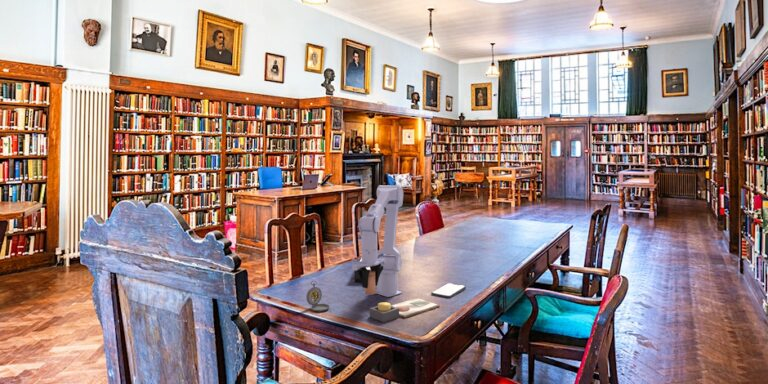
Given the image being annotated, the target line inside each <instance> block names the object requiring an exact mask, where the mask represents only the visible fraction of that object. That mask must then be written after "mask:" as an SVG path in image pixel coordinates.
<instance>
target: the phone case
mask: <svg viewBox="0 0 768 384" xmlns="http://www.w3.org/2000/svg"><path fill="white" fill-rule="evenodd" d="M466 287H467V286H466V285H462V284H456V283H451V282H449V283H446V284H444V285H442V286H441V287H438V288H437V289H435V290H433V291H431V293H430V294H431V296H434V297H438V298H444V299H452V298H453V297H455V296H457V295H458V294H460V293H462V292H463V291H465V290H466V289H467V288H466Z"/></svg>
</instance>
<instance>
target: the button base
mask: <svg viewBox="0 0 768 384" xmlns="http://www.w3.org/2000/svg"><path fill="white" fill-rule="evenodd" d="M369 317H370V318H372V319H375V320H376V321H379V322H382V323H385V322H389V321H392V320H394V319H398V318H400V317H399V308H396V307H393V306H391V310H389V311H386V312H382V311H379V310H378V305H376V306H372V307H369Z"/></svg>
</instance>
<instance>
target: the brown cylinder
mask: <svg viewBox="0 0 768 384" xmlns="http://www.w3.org/2000/svg"><path fill="white" fill-rule="evenodd" d="M363 289H364V290H363V291H364V295H367V296H370V295H371V296H372V295H375V294H377V293H376V291H375V271H374V270H370V272H369V276H368V288H363Z"/></svg>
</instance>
